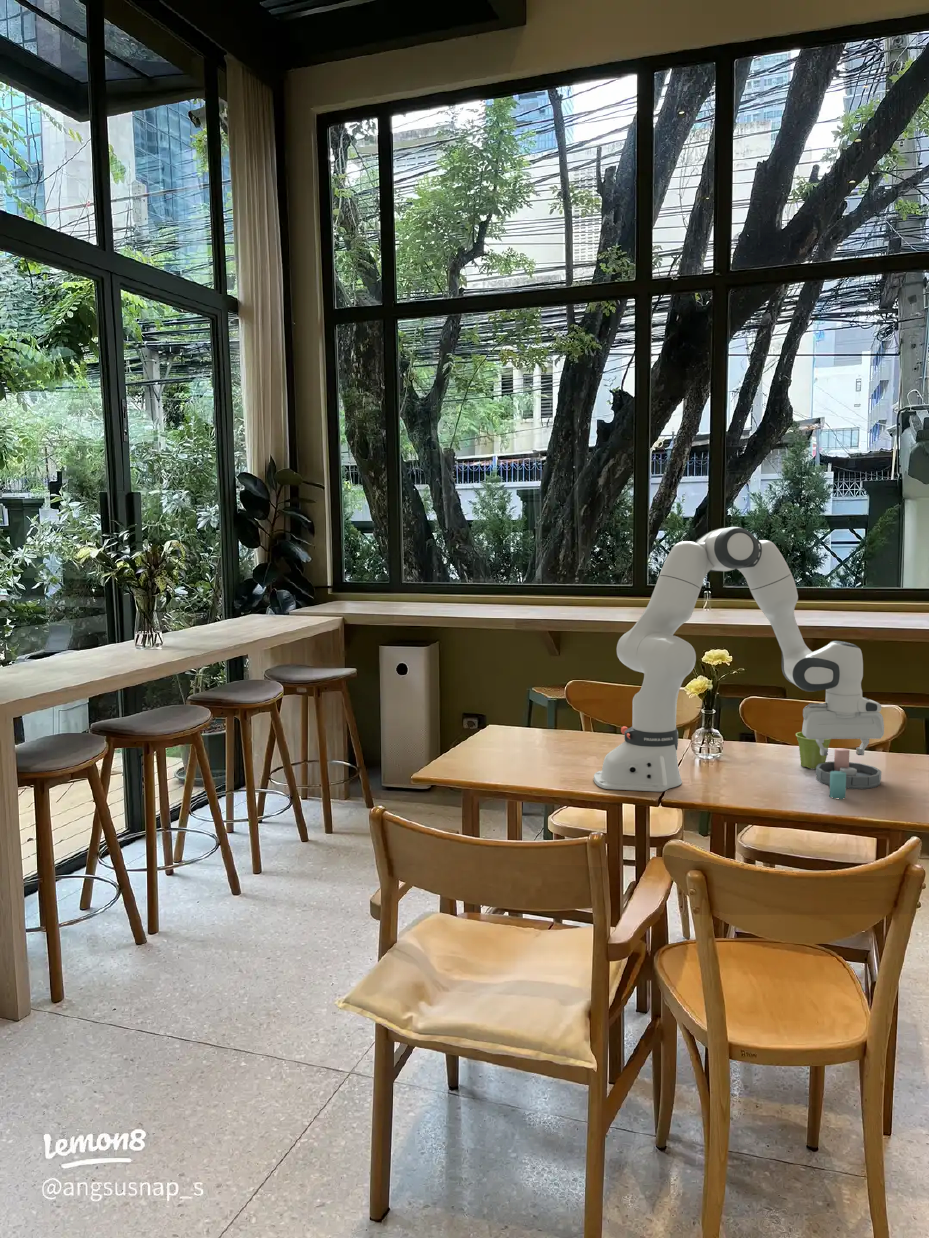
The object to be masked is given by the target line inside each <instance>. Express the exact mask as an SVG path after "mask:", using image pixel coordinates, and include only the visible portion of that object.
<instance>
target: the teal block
mask: <svg viewBox="0 0 929 1238" xmlns="http://www.w3.org/2000/svg"><path fill="white" fill-rule="evenodd" d="M846 791H847V788H846V773H845V772H842V771H831V772H830V785H829V798H831V797H833V798H832V799H834V798H839V799H838V800H844V799H843V798H845V799H846V796H847V795H846Z"/></svg>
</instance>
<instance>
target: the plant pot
mask: <svg viewBox="0 0 929 1238" xmlns="http://www.w3.org/2000/svg"><path fill="white" fill-rule="evenodd" d="M795 737H796V739H797V742H798V748H799V750H798V751H799V759H800V766H802V767H803V768H805V767H806V768H808V769H813V770H816V766H817V765H818V764H820V763H825V762H827V758H828V755H826V756H822V755H820V748H819V746H818V744H817V742H816V739H808V738H806V737H805V736H804V735H803V734H802V731H799V732H796V733H795ZM831 740H832V739H824V743H822V745H823V747H824V748H826V749H828V750H829V745H830V744H831Z"/></svg>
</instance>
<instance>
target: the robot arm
mask: <svg viewBox="0 0 929 1238" xmlns="http://www.w3.org/2000/svg"><path fill="white" fill-rule="evenodd" d="M733 570H734V571H735V570H738V571H739V572H740V573H741V574H742V575H743V577H744V578H745V581H746V583H747V585H748V588H749V591H750V593H751V596H752V597H753V599H754V601H755V602H756V605H757V606H758V608H759V609H760V610H761V611H762V614H763V615H764V616H765V618H766V619H767V620H768V622H769V623H770V626H771V628H772V630H773V633H774V635H775V638H776V640H777V643H778V646H779V648H780V651H781V671H782V675H783V676H784V678H785V680H787V681H788V682H789V683H791V684H793V685H795V686H796V687H798V688H799V689H801V690H802V691H805V692H817V691H818V692H819V691H823V690H825V701H824V702H821V703H814V702H813V703H811V702H810V703H808V705H806V706H804V708H803V709H802V717H803V720H802V721H803V722H802V729H801V732H802V734H803V735H804V736H805V737H806V738H808V739H816V742H817V744H818V746H819V748H820V755H822V756H826V755H827V756H828V755H829V754H828V753H829V748H828V749H826V748H824V747H823V745H822V743H824V739H831V740H854V739H855V740H859V739H860V741H861V744H859V747H855V754H856V755H857V756H865V749H866V748H867V746H868V745H869V744H870V739H871V740H872V739H873V740H875V739H876V740H877V739H878V740H880V739H882V737H883V736H884V735H885V723H884V716H883V715H882V713H881V712H882V711H881V710H882V705H881V704H880V702H878V701H875V700H873V699H870V698H867V697H866V696H865V697H863V689H862V680H863V677H864V660H863V653H862V650H861V648H860V647H859V646H858V645H856V644H854V643H850V642H847V641H841V640H831V641H830V642H829V643H828V644H826V645H824V646H823V647H821V648H819V649H816V650H814V651H812V650H811V649H810V648H809V647H808V646H807V644H806V643H805V641H804V639H803V635H802V633H801V631H800V630H801V629H799V625H798V622H797V621H796V617H795V608H796V605H797V603H798V600H799V594H798V589H797V585H796V582H795V578H794V576H793V574H792V572H791V569H790V568H789V565H788V563H787V562H786V560H785V558H784V556H783V554H782V553H781V552H780V550H779V548H778V546H776V544H775V543H774V542H772V541H771V540H768V539H767V540H766V539H760V540H759V539H758V538H756V537H755V536H754V535H753V534H752V533H751V531H749V530H747V529H745V528H743V527H740V526H730V527H721V528H716V529H714V530H711V531H709V532H706V533H704V534H703V535H700V537H699V538H697V539H696V540H695V541H690V540H689V541H688V540H683V541H679V542H677V543H675V544H674V545H673V547H672V548H671V550H670V551H669V553H668V555H667V557H666V559H665V561H664V562H663V565H662V567H661V570H660V573H659V576H658V577H657V581H656V584H655V586H654V589H653V591H652V594H651V596H650V600H649V602H648V603H647V606H646V607H645V610H644V611H643V613H642V614H641V616H640V617H639V619H638V620H637V621H636V622H635V624H634V625H633V626H632V628H631V629H629V630H628V631H627V632H624V634H622V636H621V637H619V639H618V641H617V644H616V656H617V658H618V659H619V662H621V663H622V664H623V665H624V666H626V668H629V669H630V670H632V671H634V672H639V673H643V680H642V684H641V686H640V687H641V688H640V690H639V691H638V692H637V693H635V694H634V696H633V697H632V723H631V724H632V726H631V727H627V726H625V725H624V726H622V727H620V732H621V734H622V735H623V736H624V737H623V738H624V741H623V742H622V743H620V744H619V745H617V746H616V747H615V748H614V749H612V750H611V751H610V752H607V754H606V755H605V757H604V759H603V761H602V767H601V768H602V769H601V770H598V771H596V772H595V773H594V774H593V782H594V783H595V784H596V786H598V787H600V788H602V789H604V790H606V789H607V790H621V791H622V790H624V791H625V790H626V791H640V792H642V791H643V792H665V791H667V790H668V789H671V788H676V787H679V786H680V785H681V784H682V782H683V781H682V777H681V773H680V769H679V764H678V763H679V762H678V755H677V753H678V747H679V731H678V729H677V705H678V697H679V692H680V690H681V687H682V684H683V682H684V680H685V679H686V677H687V676H689V675H690V674H691V673H692V671H693V669H694V668H695V666H696V661H697V654H696V651H695V648H694V647H693V646H692V644H691V643H689V641H686V640H685V639H683V638H681V637H679V636H676V635H674V634H675V633H676V631H678V630H679V628H680V627H681V626H682V625H683V624H685V623H686V622H688V621H689V620H690V619H691V617H692V615H693V612H694V610H695V607H696V604H697V601H698V598H699V595H700V592H701V589H702V587H703V583H704V580H705V578H706V576H707V575H708V573H709V572H713V573H714V572H730V571H733Z"/></svg>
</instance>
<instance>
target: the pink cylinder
mask: <svg viewBox="0 0 929 1238" xmlns="http://www.w3.org/2000/svg"><path fill="white" fill-rule="evenodd" d="M833 762H834V771H840V768H842V767H849V762H850V749H848V748H840V747H837V748H834V761H833Z"/></svg>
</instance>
